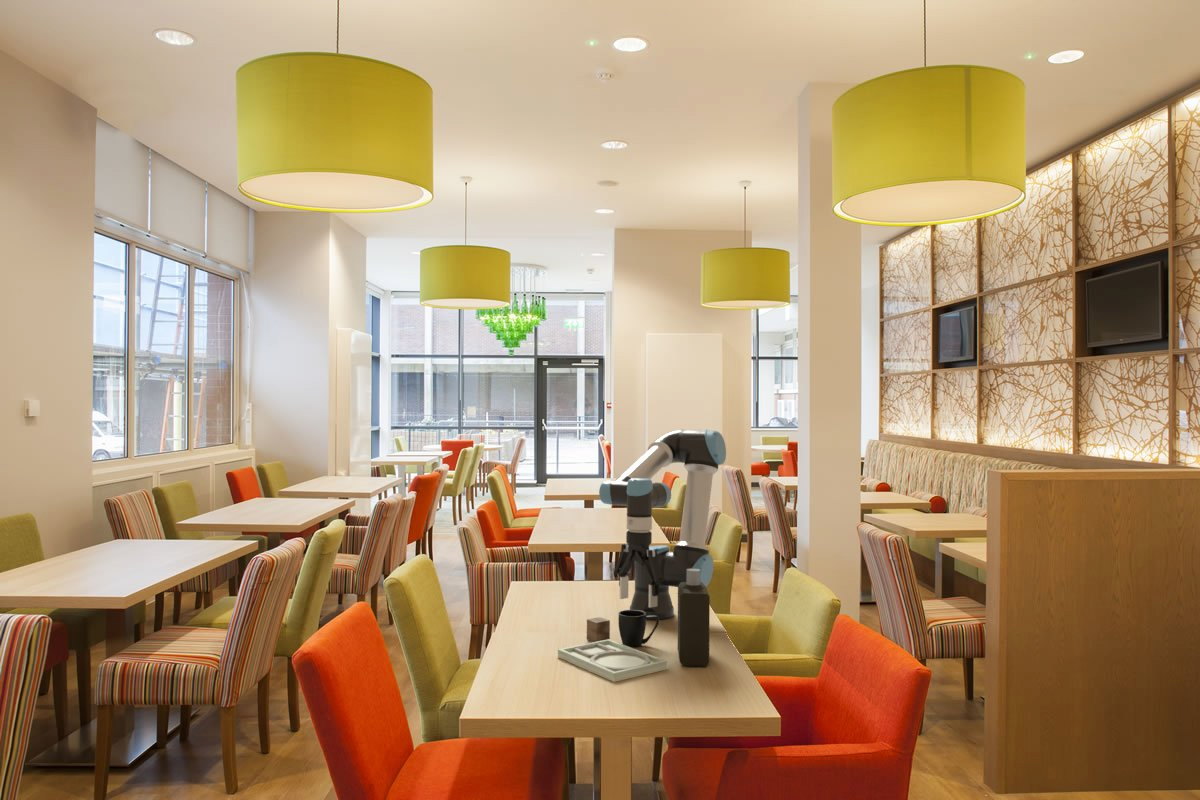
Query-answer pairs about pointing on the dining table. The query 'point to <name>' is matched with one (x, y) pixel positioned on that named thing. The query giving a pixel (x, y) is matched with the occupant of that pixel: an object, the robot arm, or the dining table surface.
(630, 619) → the mug
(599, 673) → the tray
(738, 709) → the dining table surface
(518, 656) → the dining table surface
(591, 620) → the block
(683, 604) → the bottle
